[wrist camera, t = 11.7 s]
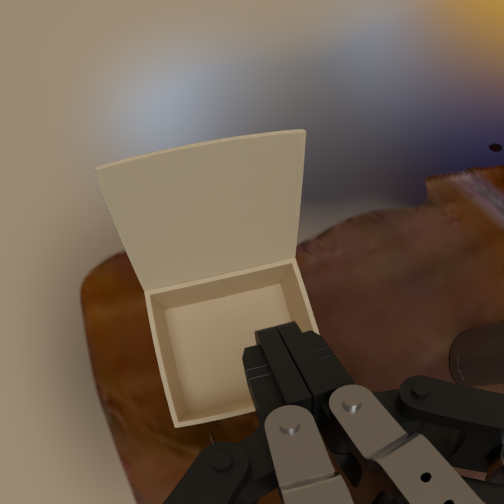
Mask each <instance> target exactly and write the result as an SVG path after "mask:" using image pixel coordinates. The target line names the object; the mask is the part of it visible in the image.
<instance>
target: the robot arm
mask: <svg viewBox="0 0 504 504" xmlns="http://www.w3.org/2000/svg"><path fill="white" fill-rule="evenodd" d="M255 340H256V345H254V346H250V347H246V348H244V352H243V356H242V361H243V366H244V371H245V376H246V381H247V386H248V389H249V392H250V395H251V398H252V401H253V404H254V407H255V410H256V413H257V416H258V419H259V422H260V424H259V426H258V428H257V430H256V431H255V432H254V433H253V434H252V435H251V436H249V437H248V438H246V439H244V440H243V441H241V442H239V443H237V444H234V443H230V442H217V443H214V444H211V445H209V446H207V447H206V448H204V449H203V450H202V451H201V452H200V454H199V455H198V456H197V458H196V459H195V461H194V462H193V464H192V465H191V466H190V468H189V469H188V471H187V472H186V473H185V475H184V476H183V477H182V479H181V480H180V482H179V483H178V484H177V486H176V487H175V488H174V490H173V491H172V492H171V494H170V495H169V496H168V498H167V499H166V500H165V502H164V503H163V504H256V503H257V501H258V499H259V498H261V497H263V496H264V495H266V494H268V493H269V492H271V491H273V490H274V489H276V488H278V492H279V496H280V500H281V504H504V394H500V393H495V392H490V391H485V390H481V389H476V388H472V387H471V386H485V385H495V384H503V383H504V319H503V320H500V321H497V322H494V323H491V324H488V325H485V326H482V327H479V328H475V329H472V330H469V331H466V332H463V333H461V334H460V335H459V336H458V337H457V338H456V340H455V341H454V343H453V346H452V349H451V352H450V370H451V373H452V376H453V378H454V380H455V381H456V382H457V383H458V384H459V385H458V384H454V383H450V382H446V381H442V380H438V379H434V378H430V377H426V376H412V377H410V378H408V379H406V380H405V381H404V382H403V383H402V384H401V386H400V389H398V390H391V391H384V392H370V391H369V390H368V389H367V388H365V387H363V386H360V385H356V384H355V383H354V382H353V380H352V379H351V377H350V376H349V374H348V373H347V371H346V370H345V369H344V367H343V366H342V364H341V363H340V361H339V360H338V359H337V357H336V356H335V355H334V353H333V351H332V350H331V349H330V348H329V346H328V344H327V343H326V341H325V340H324V339H323V337H322V336H320V335H319V334H317V333H315V332H314V331H312V330H310V331H306V332H303V333H302V331H301V329H300V328H299V326H298V325H297V323H296V322H295V321H292V322H288V323H284V324H280V325H276V326H275V327H274V326H273V327H269V328H265V329H261V330H257V331H255ZM320 433H321V435H322V437H323V439H324V443H323V441H322V438H321V436H320ZM330 460H331V461H330ZM331 462H332V463H333V465H334V466H335V468H336V470H337V471H338V473H336V472H335V470H334V468H333V466H332V463H331ZM452 466H453V467H458V468H463V469H468V470H473V471H479V472H485V473H487V475H486V477H485V481H482V480H477V479H472V478H468V477H463V476H460V475H459V474H458V473H457V472H456V471H455V470H454V469H453V468H452ZM346 485H347V486H346ZM347 487H348V488H349V490H350V493H351V496H350V493H349V491H348V488H347ZM351 497H352V498H351Z"/></svg>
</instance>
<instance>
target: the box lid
mask: <svg viewBox="0 0 504 504" xmlns="http://www.w3.org/2000/svg"><path fill="white" fill-rule="evenodd" d="M305 140H306V131H305V130H303V129H298V130H286V131H276V132H267V133H259V134H251V135H244V136H237V137H230V138H224V139H217V140H212V141H206V142H200V143H195V144H189V145H184V146H180V147H174V148H170V149H165V150H160V151H156V152H151V153H147V154H143V155H139V156H135V157H130V158H127V159H123V160H119V161H115V162H112V163H108V164H104V165H101V166H97V167H96V169H95V171H96V174H97V177H98V180H99V183H100V186H101V188H102V192H103V194H104V197H105V200H106V203H107V205H108V208H109V210H110V213H111V216H112V218H113V220H114V223H115V226H116V228H117V231H118V233H119V235H120V238H121V240H122V243H123V245H124V248H125V250H126V252H127V255H128V257H129V259H130V261H131V264H132V266H133V268H134V270H135V273H136V275H137V277H138V279H139V281H140V283H141V285H142V288H143V290H144V291H146V290H151V289H155V288H160V287H164V286H169V285H174V284H178V283H183V282H187V281H192V280H197V279H201V278H206V277H210V276H215V275H219V274H224V273H228V272H232V271H237V270H241V269H246V268H250V267H255V266H259V265H263V264H268V263H272V262H276V261H281V260H285V259H289V258H294V257H295V254H296V244H297V235H298V225H299V214H300V204H301V192H302V181H303V167H304V154H305Z"/></svg>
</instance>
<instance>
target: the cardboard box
mask: <svg viewBox="0 0 504 504" xmlns="http://www.w3.org/2000/svg"><path fill="white" fill-rule="evenodd" d="M144 292H145V298H146V304H147V310H148V316H149V321H150V327H151V332H152V337H153V342H154V347H155V352H156V356H157V361H158V365H159V370H160V374H161V378H162V382H163V386H164V390H165V394H166V398H167V402H168V405H169V409H170V413H171V416H172V420H173V423H174V427H175V428H177V427H183V426H189V425H195V424H200V423H205V422H210V421H215V420H220V419H224V418H229V417H233V416H237V415H241V414H246V413H249V412H253V411H256V410H255V407H254V404H253V401H252V398H251V395H250V392H249V389H248V386H247V381H246V376H245V371H244V366H243V361H242V356H243V352H244V348H246V347H250V346H254V345H256V340H255V331H257V330H261V329H265V328H269V327H273V326H274V327H275V326H276V325H280V324H284V323H288V322H292V321H295V322H296V323H297V325H298V326H299V328H300V329H301V331H302V333H303V332H306V331H310V330H312V331H314V332H315V333H317V334H319V331H318V328H317V324H316V321H315V318H314V315H313V312H312V308H311V305H310V302H309V299H308V296H307V293H306V290H305V287H304V283H303V280H302V277H301V274H300V271H299V268H298V265H297V262H296V259H295V258H291V259H286V260H282V261H278V262H273V263H269V264H265V265H260V266H256V267H252V268H247V269H243V270H238V271H234V272H229V273H225V274H221V275H216V276H212V277H207V278H203V279H198V280H193V281H189V282H184V283H180V284H175V285H171V286H166V287H161V288H157V289H152V290H147V291H144ZM319 335H320V334H319Z"/></svg>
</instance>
